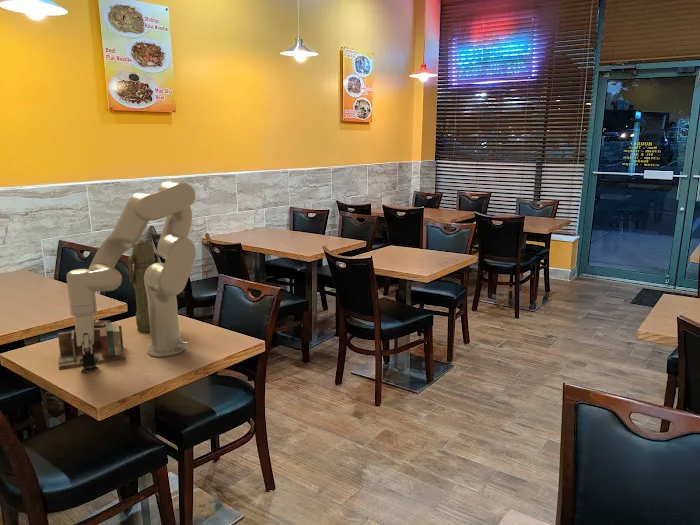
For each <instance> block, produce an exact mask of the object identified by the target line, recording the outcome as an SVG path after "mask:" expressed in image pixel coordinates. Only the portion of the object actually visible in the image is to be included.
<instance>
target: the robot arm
mask: <svg viewBox="0 0 700 525" xmlns="http://www.w3.org/2000/svg"><path fill="white" fill-rule="evenodd" d="M195 200H196V192H195V189H194V188H193V187H192V186H191V185H190V184H189V183H186V182H181V181H176V180H167V181H166V180H165V181H163V182H162V183H161V184H160V185H159V187H158V191H156V192H152V193H148V192H136V193H134V194H132V195H131V196H130V198H129V199H128V201H127V203H126V204H125V206H124V208H123V211H122V212H121V214H120V215H119V218H118V221H117V222H116V224H115V226H114V229H113V230H112V232H111V234H109V236H107V238H106V239H105V240H104V241H103V243H102V244H101V245H100V246H99V247H98V249H97V251H96V252H95V255H94V257H93V259H92V260H91V262H90V265H89V267H88V269H87V268H78V269H72V270H70V271H68V272H67V273H66V284H67V285H66V286H67V293H68V301H69V302H68V303H69V310H70V315H71V316H72V317H74V327H75V328H74V329H75V330H74V331H76V339H77V346H78V347H79V346H81V345H82V349H83V354H82V357H83V366H84V367H85V366H91V365H94V364H95V363H94V349H93V352H92V347H93V344H94V321H95V320H94V315H95V314H97V312H98V310H97V309H98V308H97V300H96V299H97V298H96V292H110V291H114V290H116V289H118V288H119V287H120V286H121V285H122V282H123V277H122V274H121V272H120V271H119V270H117V268H115V267H116V265H117V263H118V261H119V260H120V258H121V257H122V255H124V253H125V252H127V251H128V250H129V249H133V247H134V246H135V245H137V244H138V242H139V241H141V238H142V236H143V235H144V232H145V230H146V228H147V225H148V224H149V222H151V221H158V220H160V219H164V218H165V221H164V225H163V228H162V232H161V234H160V237H159V240H158V243H157V246H156V253H157V255H158V256H159V258H162V259H164V260H165V261H164V262H159V263H155V262H154V264H152V265H150V266H149V267H148V268H147V269H146V271H145V274H144V283H145V288H146V292H147V298H148V307H149V322H150V345H149V346H148V347H147V349H146V353H147V354H148V355H149V356H152V357H159V358H161V357H162V358H164V357H172V356H174V355H175V356H176V355H178V354H181V353H182V352H183V351H184V350H188V346H189V342H188V341H183V337H182V336H180V328H179V325H180V324H179V314H178V300H177V299H178V298H177V295H179V294H181V293H182V292H183V291H184V289H185V288H186V285H187V284H188V283H187V282H188V280H189V278H190V274H191V272H192V268H193V266H194V263H195V259H196V255H197V254H196V253H197V252H196V251H197V250H196V245H195V244H194V242H193V241H192V240H191V239H190V238H189V235H190V234H189V233H190V230H191V227H192V221H193V212H192V207H191V206H192V205H193V204H194V202H195ZM89 342H90V344H89ZM83 343H84V345H83ZM89 346H90V348H89ZM84 347H85V348H84Z"/></svg>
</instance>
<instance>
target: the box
mask: <svg viewBox="0 0 700 525" xmlns="http://www.w3.org/2000/svg"><path fill="white" fill-rule="evenodd" d="M106 323H112V320H94V329H96V328H103V327H106Z"/></svg>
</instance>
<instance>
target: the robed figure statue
mask: <svg viewBox="0 0 700 525" xmlns="http://www.w3.org/2000/svg"><path fill="white" fill-rule="evenodd" d="M131 249H132V252H131V253H132V254H131V255H129V256H128V258H127V264H128V277H129V282H130V284H131V283H132V284H133V286H132V287H133V289H134V290H135V302H136V303H135V304H136V312H135V323H136V327H137V328H136V329H137V332H138V333H142V334H147V333H148V334H149V333H150V322H149V307H148V298H147V292H146V288H145V283H144V274H145V271H146V269H147V268H148V267H149V266H150V265H152V264H154V263H160V256H159V254H158V252H155V251H154V247H153V245H152V243H151V242H150V241H149V240H140V241H139V242H138V244H137V245H135V246H134V247H132V248H131Z"/></svg>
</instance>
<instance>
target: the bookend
mask: <svg viewBox="0 0 700 525" xmlns="http://www.w3.org/2000/svg"><path fill="white" fill-rule="evenodd" d="M74 331H75V330H74V329H73V330H71V332H72V348H73V352H66V353H59V358H58V359H59V360H58V365H59V364H61V363H68V362H74V361H76V343H75V334H74Z"/></svg>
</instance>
